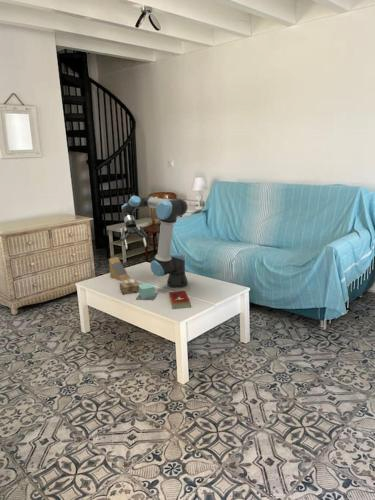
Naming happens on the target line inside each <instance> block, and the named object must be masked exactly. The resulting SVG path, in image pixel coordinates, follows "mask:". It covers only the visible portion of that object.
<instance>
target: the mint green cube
mask: <svg viewBox="0 0 375 500" xmlns="http://www.w3.org/2000/svg"><path fill="white" fill-rule="evenodd" d="M138 289H139V292H138V295H139V296H140V297H141V298H142V299H146V298H152V297H155V293H156V290H155V289H156V288H155V286H154V285H153V284H152V283H151V282H150V283H144V284H139V285H138ZM155 298H156V297H155Z"/></svg>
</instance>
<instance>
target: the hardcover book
mask: <svg viewBox="0 0 375 500" xmlns="http://www.w3.org/2000/svg"><path fill="white" fill-rule="evenodd" d="M167 294H168V297H169V302H170V304H171V305H170V306H171V309H183V307H184V308H191V306H192V305H191V301H190V298H189V296H188V293H187V291H186V290H176V291H168V293H167Z"/></svg>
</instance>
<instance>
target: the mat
mask: <svg viewBox="0 0 375 500" xmlns="http://www.w3.org/2000/svg"><path fill="white" fill-rule="evenodd" d="M158 294H159V293H158V292H155V297H152V298H146V299H142V298H141V297H140V296H139V294H138V295H137V297H136V298H135V300H138V301H141V300H142V301H143V300H144V301H154V300H155V299H156V297H157V295H158Z"/></svg>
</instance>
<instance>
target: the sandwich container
mask: <svg viewBox="0 0 375 500" xmlns="http://www.w3.org/2000/svg"><path fill="white" fill-rule="evenodd" d="M108 262H109V264H108V265H109V274H110V278H112V279H115V280H116V281H117V280H118V281H121V282H124V281H126V280H131V277H130V276H129V274H128V272H127V271H126V268H125V266H123V264H122V262H121V260H120V258H119V257H118V256H116V257H112V258H108Z"/></svg>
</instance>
